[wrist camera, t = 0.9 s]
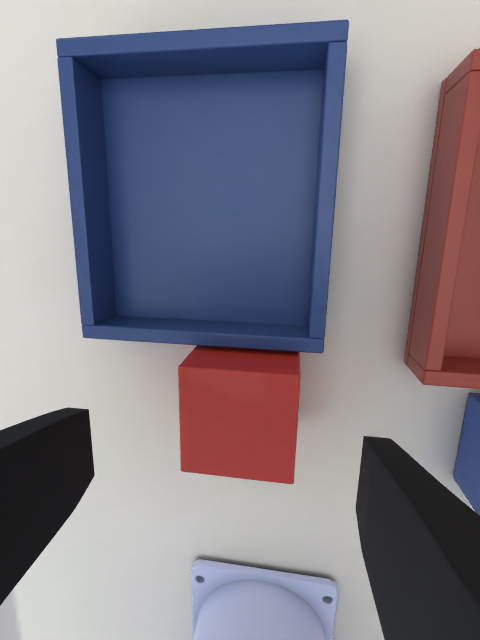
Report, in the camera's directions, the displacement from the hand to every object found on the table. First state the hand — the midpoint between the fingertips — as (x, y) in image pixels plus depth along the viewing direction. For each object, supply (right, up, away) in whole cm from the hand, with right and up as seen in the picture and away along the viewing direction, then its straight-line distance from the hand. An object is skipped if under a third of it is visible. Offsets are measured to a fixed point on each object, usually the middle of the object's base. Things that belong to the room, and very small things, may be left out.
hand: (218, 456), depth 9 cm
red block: (+1, +1, +8) cm, 8 cm away
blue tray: (-1, +8, +7) cm, 11 cm away
